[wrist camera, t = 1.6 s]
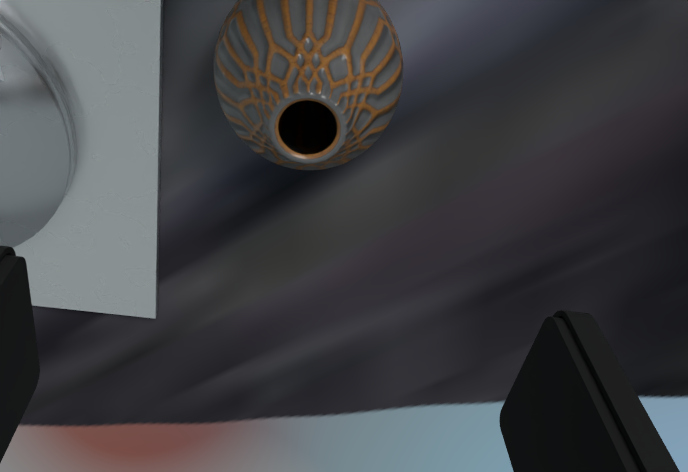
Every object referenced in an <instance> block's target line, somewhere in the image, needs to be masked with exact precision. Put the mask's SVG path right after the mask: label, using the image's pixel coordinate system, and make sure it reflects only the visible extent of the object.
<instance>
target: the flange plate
mask: <svg viewBox="0 0 688 472" xmlns="http://www.w3.org/2000/svg"><path fill="white" fill-rule="evenodd" d="M163 11H164V0H0V246H9V247H12V248H13V249H14V251H15V253H16V256H21V257H24V258H25V260H26V264H27V272H28V280H29V287H30V295H31V303H32V305H34V306H43V307H52V308H62V309H71V310H80V311H90V312H99V313H108V314H118V315H127V316H136V317H145V318H155V319H156V315H157V312H158V276H159V223H160V170H161V117H162V64H163Z"/></svg>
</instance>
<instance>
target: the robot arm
mask: <svg viewBox="0 0 688 472" xmlns="http://www.w3.org/2000/svg"><path fill="white" fill-rule="evenodd" d="M39 373H40V366H39V358H38V350H37V342H36V334H35V327H34V319H33V311H32V303H31V295H30V287H29V280H28V272H27V264H26V260H25V258H24V257H21V256H16V253H15V251H14V249H13V248H12V247H9V246H0V462H1V460H2V458H3V456H4V454H5V452H6V450H7V448H8V446H9V443H10V441H11V439H12V437H13V435H14V433H15V431H16V429H17V427H18V425H19V423H20V420H21V418H22V416H23V414H24V412H25V410H26V408H27V406H28V404H29V402H30V399H31V397H32V395H33V393H34V391H35V389H36V386H37V383H38V379H39ZM500 427H501V432H502V435H503V438H504V441H505V445H506V448H507V451H508V454H509V458H510V461H511V464H512V467H513V471H514V472H680V471H679V470H678V468H677V466H676V464H675V462H674V461H673V459H672V457H671V455H670V453H669V452H668V450H667V448H666V446H665V445H664V443H663V441H662V439H661V438H660V436H659V434H658V432H657V430H656V428H655V427H654V425H653V423H652V421H651V420H650V418H649V416H648V414H647V412H646V410H645V409H644V407H643V405H642V403H641V401H640V400H639V398H638V396H637V394H636V393H635V391H634V389H633V387H632V385H631V384H630V382H629V380H628V378H627V376H626V375H625V373H624V371H623V369H622V367H621V366H620V364H619V362H618V360H617V358H616V357H615V355H614V353H613V351H612V349H611V348H610V346H609V344H608V342H607V341H606V339H605V337H604V335H603V333H602V332H601V330H600V328H599V326H598V324H597V323H596V321H595V319H594V318H593V317H592V315H590V314H588V313H580V312H571V311H562V310H561V311H557V312H556V313H555V314H554V316H553V317H548V318H546V319H545V321H544V322H543V324H542V326H541V329H540V331H539V333H538V335H537V337H536V339H535V341H534V343H533V345H532V347H531V349H530V351H529V353H528V355H527V357H526V360H525V362H524V364H523V366H522V368H521V370H520V372H519V374H518V376H517V378H516V380H515V382H514V384H513V386H512V388H511V391H510V393H509V395H508V397H507V399H506V401H505V403H504V405H503V407H502V410H501V413H500Z"/></svg>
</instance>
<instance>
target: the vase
mask: <svg viewBox="0 0 688 472" xmlns="http://www.w3.org/2000/svg"><path fill="white" fill-rule="evenodd" d="M214 80H215V87H216V92H217V95H218V99H219V102H220V105H221V107H222V110H223V112H224V114H225V116H226V118H227V120H228V122H229V124H230V125H231V127H232V128H233V130H234V131H235V132H236V134H237V135H238V136H239V138H240V139H241V140H242V141H243V142H244V143H245V144H246V145H247V146H248V147H250V148H251V149H252V150H253V151H255V152H256V153H257V154H259V155H260V156H262V157H263V158H265V159H267V160H269V161H271V162H273V163H276V164H278V165H281V166H284V167H288V168H292V169H299V170H321V169H327V168H331V167H335V166H338V165H341V164H344V163H346V162H348V161H350V160H352V159H354V158H355V157H357V156H358V155H360V154H361V153H363V152H364V151H365V150H367V149H368V148H369V147H370V146H371V145H372V144H373V143H374V142H375V141H376V140H377V139H378V138H379V137H380V135H381V134H382V133H383V131H384V130H385V129H386V127H387V125H388V124H389V122H390V120H391V118H392V116H393V114H394V112H395V109H396V107H397V104H398V101H399V97H400V94H401V89H402V82H403V58H402V52H401V47H400V43H399V39H398V36H397V33H396V31H395V28H394V26H393V24H392V22H391V20H390V18H389V16H388V14H387V13H386V11H385V10H384V8H383V7H382V6H381V4H380V3H379V2H378V1H377V0H238V1H237V2H236V3H235V5H234V6H233V8H232V9H231V11H230V12H229V14H228V16H227V18H226V19H225V21H224V23H223V25H222V28H221V30H220V33H219V37H218V40H217V43H216V48H215V54H214Z"/></svg>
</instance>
